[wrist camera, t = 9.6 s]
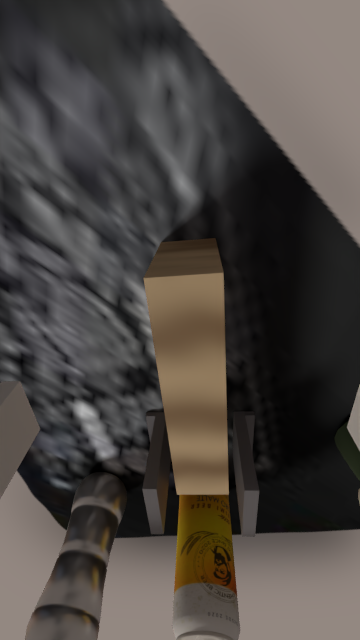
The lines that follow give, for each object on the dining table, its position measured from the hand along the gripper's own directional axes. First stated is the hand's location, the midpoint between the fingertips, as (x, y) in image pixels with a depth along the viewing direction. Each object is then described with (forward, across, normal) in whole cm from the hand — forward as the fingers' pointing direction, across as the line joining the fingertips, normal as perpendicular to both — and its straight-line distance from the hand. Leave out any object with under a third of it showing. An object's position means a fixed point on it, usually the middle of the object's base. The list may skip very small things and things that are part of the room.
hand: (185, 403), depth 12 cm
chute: (+15, 0, -20) cm, 25 cm away
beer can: (+15, 0, -29) cm, 33 cm away
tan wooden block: (+16, 0, -8) cm, 17 cm away
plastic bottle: (+15, -13, -29) cm, 35 cm away
